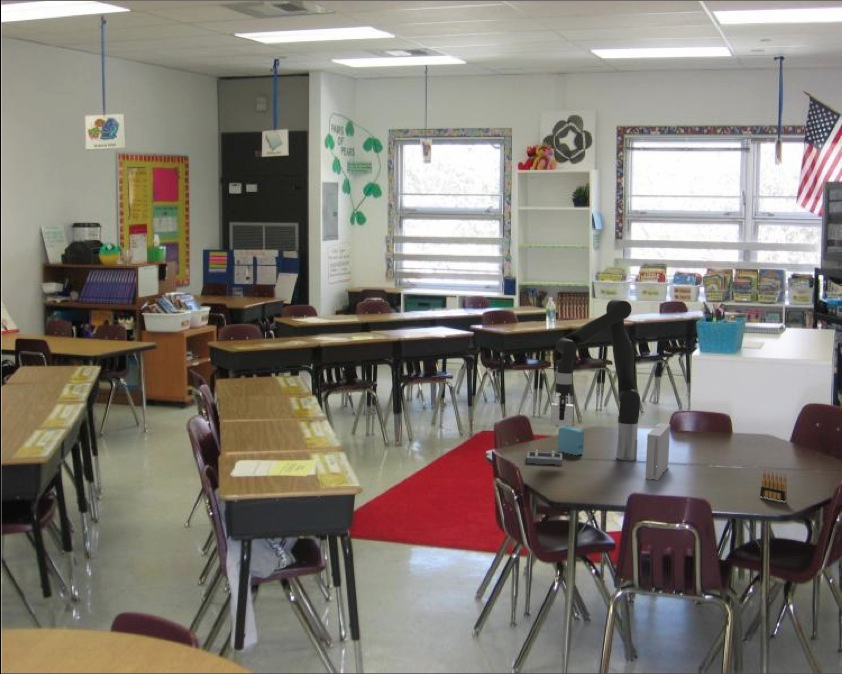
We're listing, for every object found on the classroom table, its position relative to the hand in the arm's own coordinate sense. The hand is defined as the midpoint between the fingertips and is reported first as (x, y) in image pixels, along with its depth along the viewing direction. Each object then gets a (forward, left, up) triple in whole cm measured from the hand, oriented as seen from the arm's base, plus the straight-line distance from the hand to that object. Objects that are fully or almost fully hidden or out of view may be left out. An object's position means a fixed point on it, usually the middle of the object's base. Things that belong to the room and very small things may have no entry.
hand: (561, 418), depth 515 cm
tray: (+7, +1, -20) cm, 21 cm away
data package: (-5, -18, -20) cm, 28 cm away
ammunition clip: (-87, +49, -20) cm, 102 cm away
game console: (-43, +12, -20) cm, 49 cm away
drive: (0, 0, -2) cm, 2 cm away
